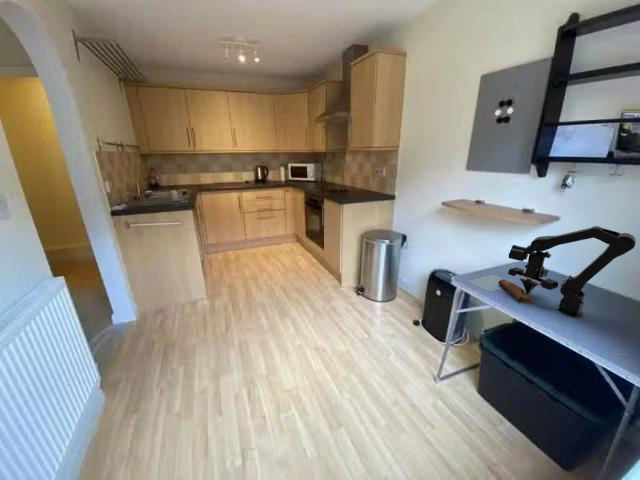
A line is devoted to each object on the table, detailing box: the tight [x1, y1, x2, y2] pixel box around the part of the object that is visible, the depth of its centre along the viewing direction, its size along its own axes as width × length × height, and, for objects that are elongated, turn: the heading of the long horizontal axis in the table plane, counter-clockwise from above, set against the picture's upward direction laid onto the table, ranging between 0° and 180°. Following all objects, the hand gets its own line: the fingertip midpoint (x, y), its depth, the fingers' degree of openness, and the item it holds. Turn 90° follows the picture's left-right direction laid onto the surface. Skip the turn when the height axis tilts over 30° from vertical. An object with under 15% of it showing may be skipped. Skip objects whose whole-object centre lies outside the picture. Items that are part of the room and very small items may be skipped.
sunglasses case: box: [498, 278, 536, 304], centre depth 135 cm, size 18×7×7 cm
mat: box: [467, 273, 516, 293], centre depth 147 cm, size 13×20×1 cm, turn 113°
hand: (527, 293), depth 130 cm, fingers closed
